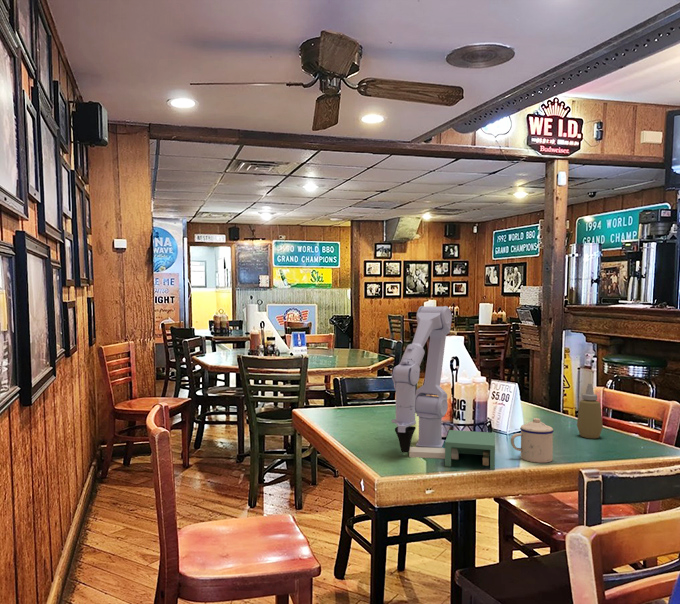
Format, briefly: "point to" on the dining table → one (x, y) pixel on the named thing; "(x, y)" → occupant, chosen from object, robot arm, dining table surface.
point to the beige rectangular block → (431, 452)
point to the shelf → (471, 445)
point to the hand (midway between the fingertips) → (405, 452)
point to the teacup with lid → (535, 442)
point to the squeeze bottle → (589, 415)
